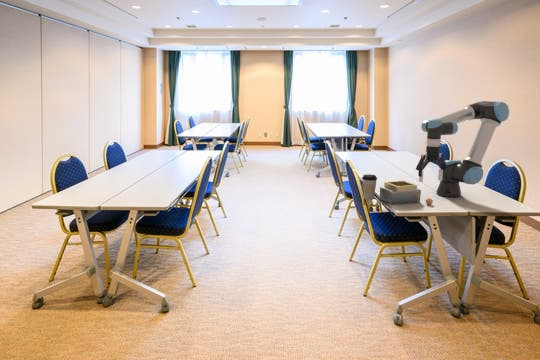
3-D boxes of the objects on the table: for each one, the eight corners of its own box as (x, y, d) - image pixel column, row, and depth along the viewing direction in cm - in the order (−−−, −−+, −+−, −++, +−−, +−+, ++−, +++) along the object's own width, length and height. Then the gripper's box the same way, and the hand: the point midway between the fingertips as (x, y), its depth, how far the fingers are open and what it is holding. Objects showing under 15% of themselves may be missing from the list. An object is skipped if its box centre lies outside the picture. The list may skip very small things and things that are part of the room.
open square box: (406, 196, 282) (407, 180, 280) (419, 202, 269) (421, 185, 267) (379, 199, 276) (380, 182, 274) (391, 204, 263) (392, 187, 261)
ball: (429, 203, 267) (430, 197, 266) (433, 205, 263) (434, 198, 262) (424, 204, 265) (424, 197, 264) (428, 205, 262) (428, 199, 261)
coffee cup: (373, 201, 271) (375, 177, 268) (359, 199, 276) (360, 176, 272) (377, 198, 279) (379, 175, 276) (363, 196, 284) (364, 173, 280)
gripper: (446, 144, 263) (443, 178, 268) (411, 145, 256) (408, 181, 261) (455, 145, 256) (452, 180, 261) (418, 147, 249) (416, 183, 254)
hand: (430, 181), depth 261 cm, fingers open, 13 cm apart
